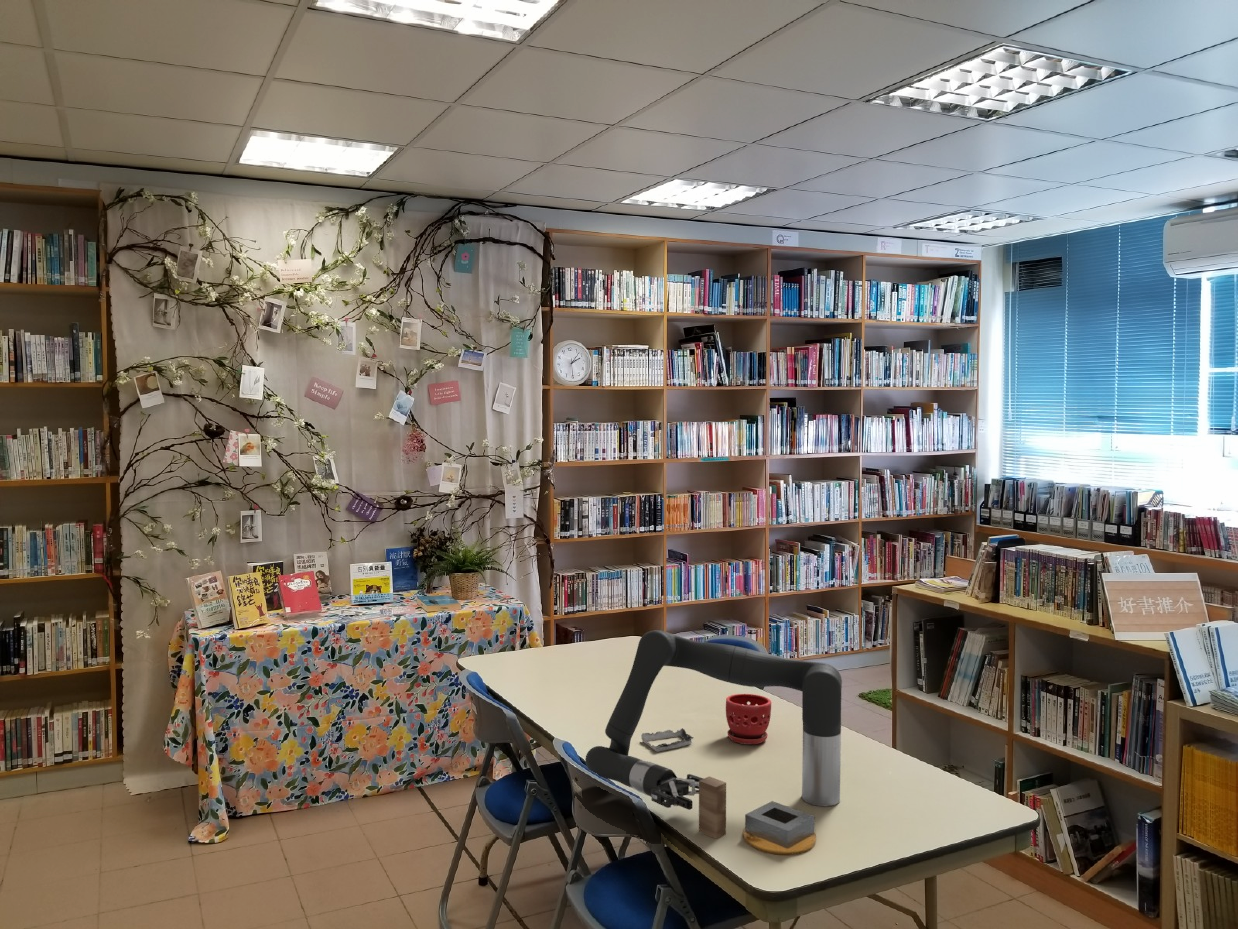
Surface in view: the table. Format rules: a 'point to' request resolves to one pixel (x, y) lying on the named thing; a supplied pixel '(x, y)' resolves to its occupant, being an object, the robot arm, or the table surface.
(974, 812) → the table surface
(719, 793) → the brown wooden block
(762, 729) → the plant pot
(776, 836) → the grey socket block
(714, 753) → the table surface
